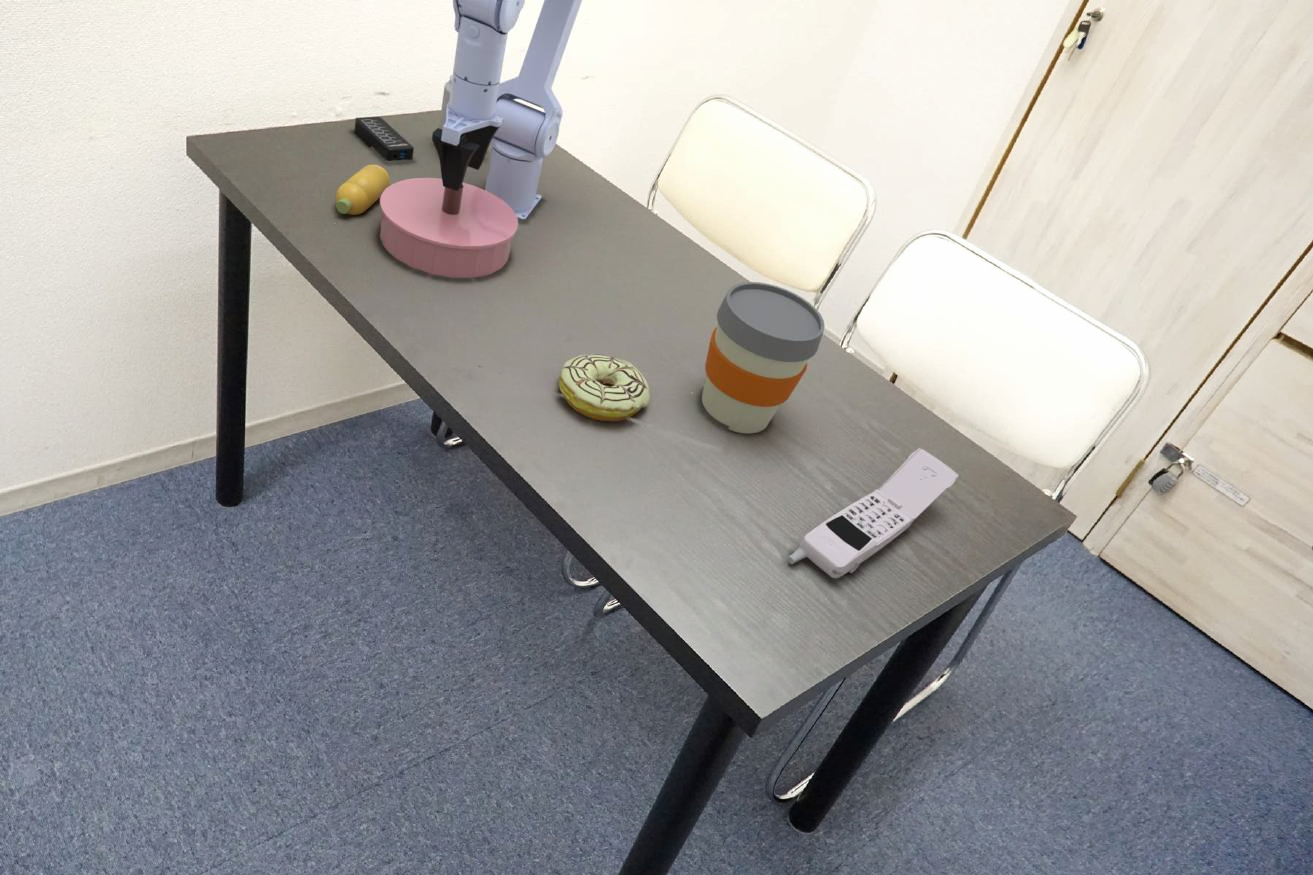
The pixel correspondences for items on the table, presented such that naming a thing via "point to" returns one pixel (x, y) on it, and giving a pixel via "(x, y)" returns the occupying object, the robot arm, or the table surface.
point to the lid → (448, 214)
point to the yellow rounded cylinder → (362, 190)
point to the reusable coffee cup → (758, 354)
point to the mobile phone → (876, 516)
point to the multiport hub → (383, 138)
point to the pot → (442, 255)
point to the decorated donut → (603, 387)
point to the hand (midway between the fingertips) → (461, 177)
